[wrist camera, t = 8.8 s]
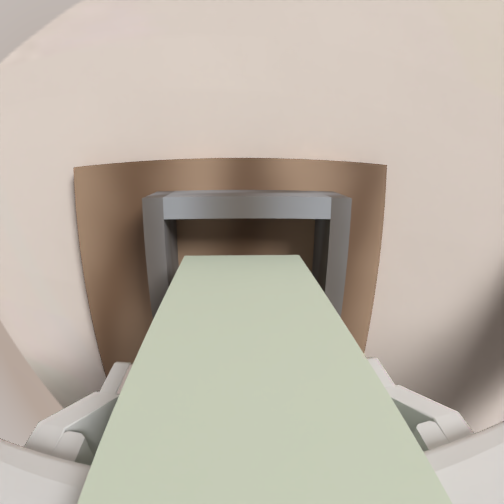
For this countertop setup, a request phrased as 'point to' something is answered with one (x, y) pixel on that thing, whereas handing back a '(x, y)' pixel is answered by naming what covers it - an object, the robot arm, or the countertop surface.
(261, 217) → the base
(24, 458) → the robot arm
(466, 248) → the countertop surface
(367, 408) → the link block
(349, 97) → the countertop surface
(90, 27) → the countertop surface
